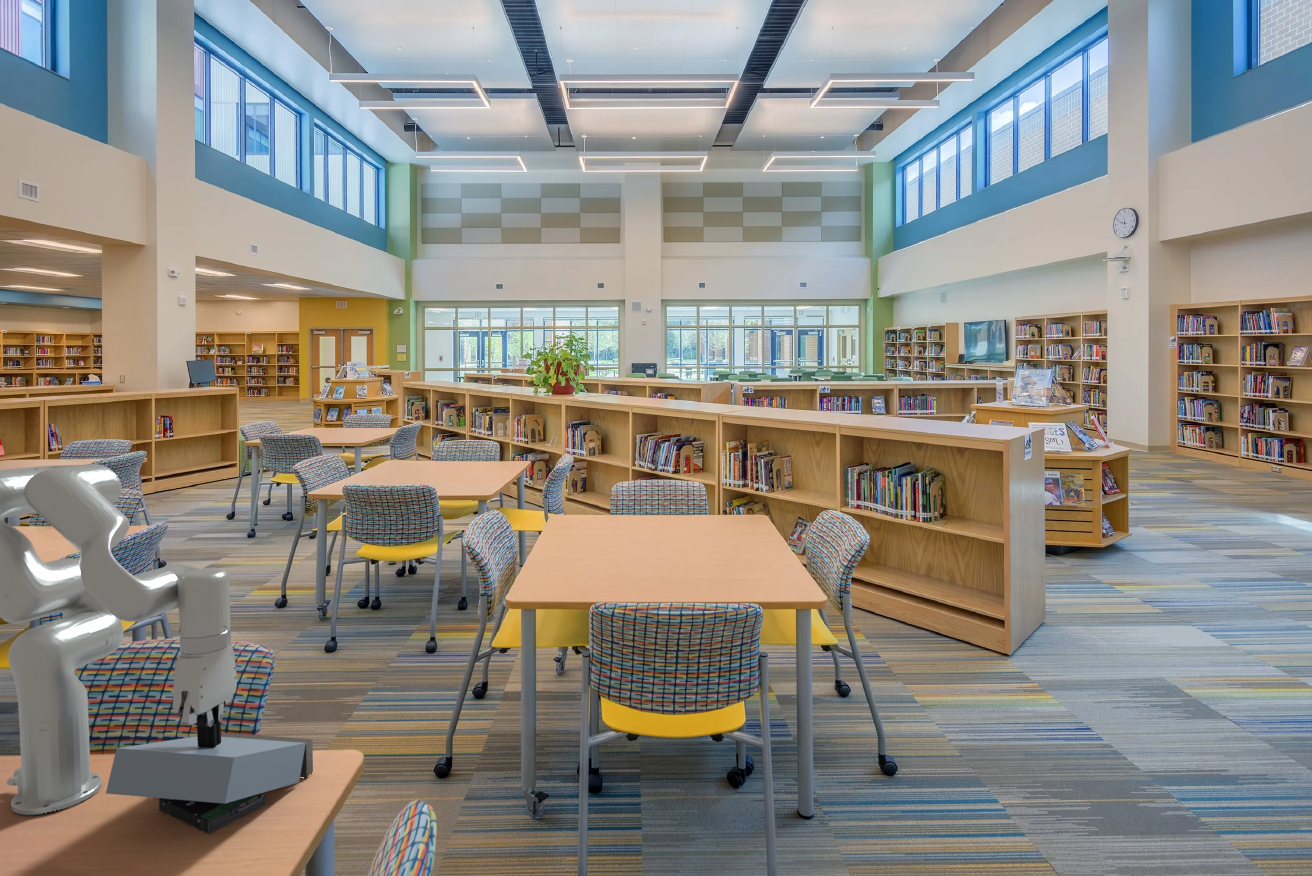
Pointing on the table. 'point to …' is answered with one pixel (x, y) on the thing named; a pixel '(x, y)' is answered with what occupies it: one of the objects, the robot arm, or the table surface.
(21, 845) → the table surface
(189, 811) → the disk drive
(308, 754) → the long flat gray bar
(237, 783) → the cover
